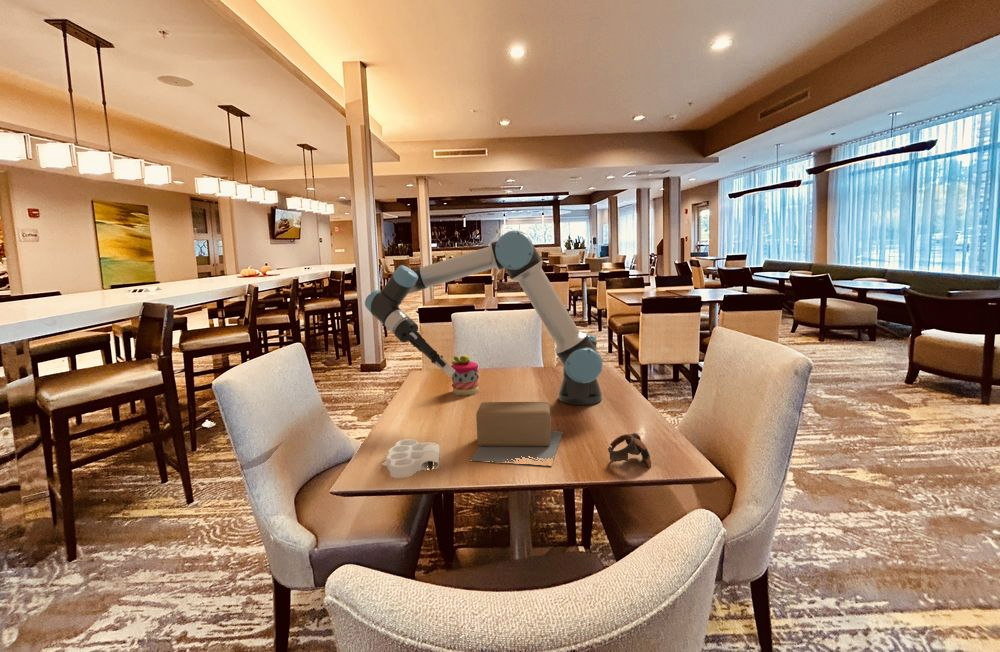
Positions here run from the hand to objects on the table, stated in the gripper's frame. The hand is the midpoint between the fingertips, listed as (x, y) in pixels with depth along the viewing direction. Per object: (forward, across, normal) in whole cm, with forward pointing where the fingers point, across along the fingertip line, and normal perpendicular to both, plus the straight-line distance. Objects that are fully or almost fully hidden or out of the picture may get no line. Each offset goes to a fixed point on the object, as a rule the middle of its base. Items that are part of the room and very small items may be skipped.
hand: (452, 373), depth 157 cm
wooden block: (+19, +8, -6) cm, 21 cm away
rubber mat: (+31, +8, -2) cm, 33 cm away
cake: (-4, -39, +1) cm, 39 cm away
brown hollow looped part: (+56, +17, +13) cm, 60 cm away
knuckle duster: (+15, +17, -26) cm, 34 cm away
